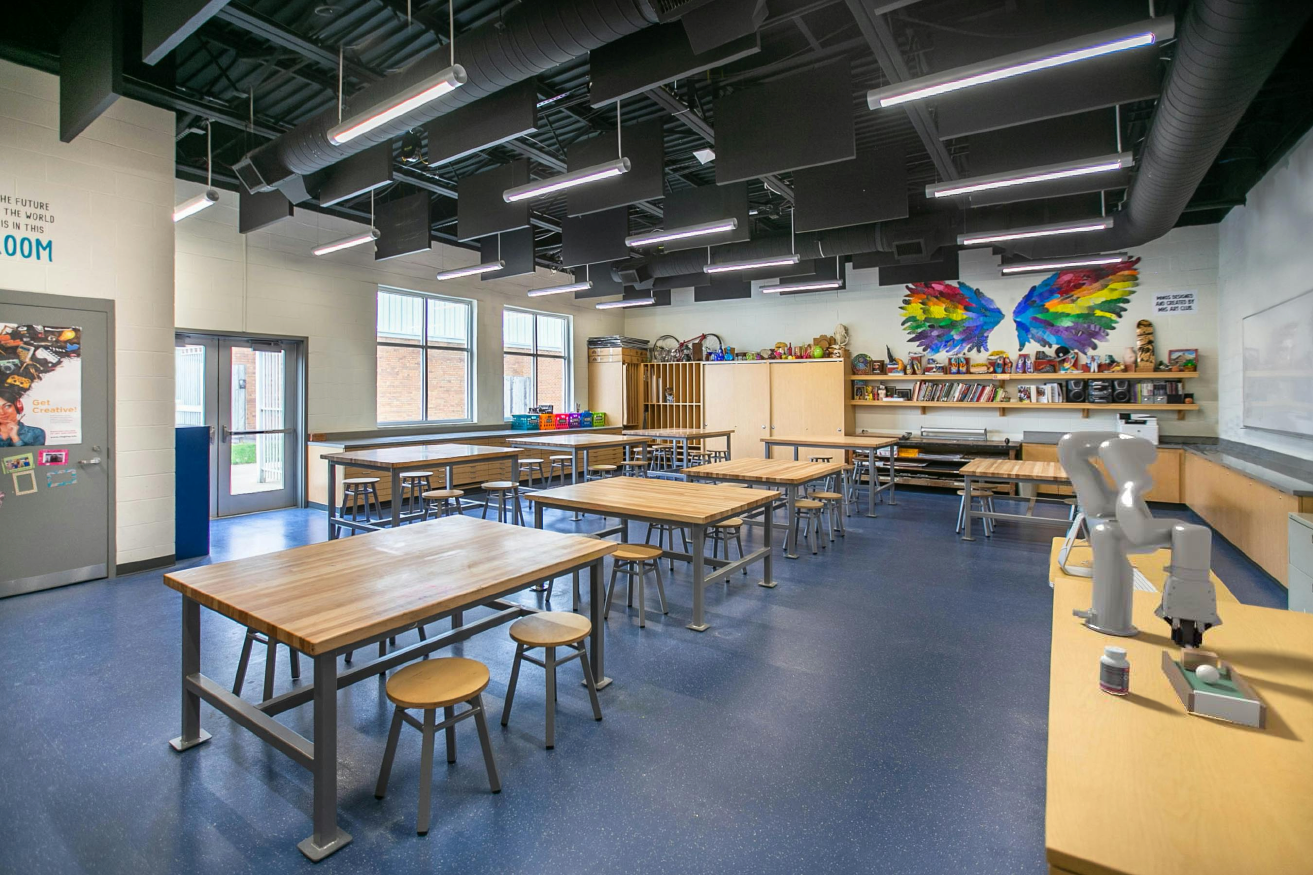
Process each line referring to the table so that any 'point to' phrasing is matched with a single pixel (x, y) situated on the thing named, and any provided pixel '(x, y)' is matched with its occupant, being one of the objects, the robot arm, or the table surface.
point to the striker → (1188, 654)
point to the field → (1216, 694)
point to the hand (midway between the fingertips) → (1186, 644)
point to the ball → (1207, 674)
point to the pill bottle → (1114, 670)
